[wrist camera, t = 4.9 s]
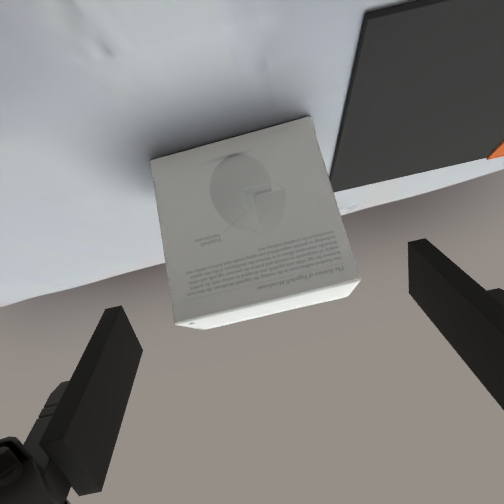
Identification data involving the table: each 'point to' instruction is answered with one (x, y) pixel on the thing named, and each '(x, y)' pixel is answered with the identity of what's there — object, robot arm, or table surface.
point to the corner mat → (423, 91)
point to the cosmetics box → (251, 227)
